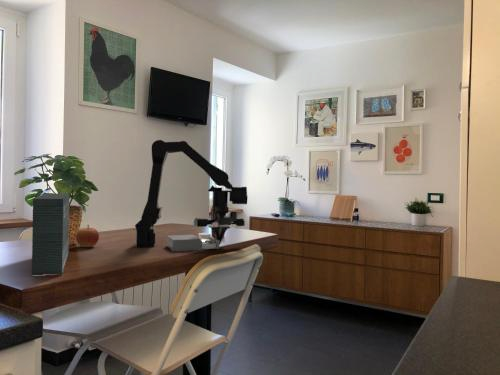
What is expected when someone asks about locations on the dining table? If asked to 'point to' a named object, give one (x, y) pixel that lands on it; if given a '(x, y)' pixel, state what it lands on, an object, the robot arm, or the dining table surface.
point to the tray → (213, 244)
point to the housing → (184, 242)
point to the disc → (206, 241)
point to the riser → (204, 235)
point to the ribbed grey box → (50, 233)
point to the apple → (87, 237)
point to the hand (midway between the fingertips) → (218, 244)
